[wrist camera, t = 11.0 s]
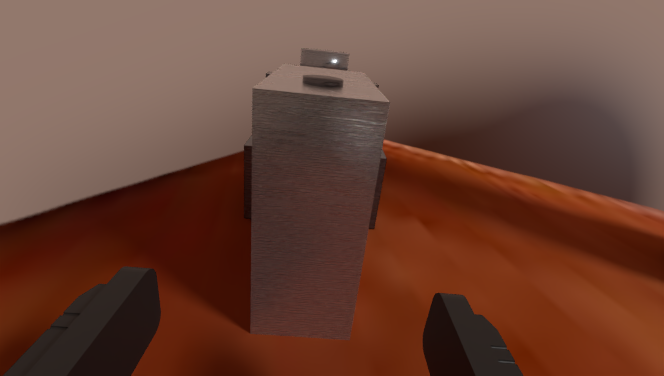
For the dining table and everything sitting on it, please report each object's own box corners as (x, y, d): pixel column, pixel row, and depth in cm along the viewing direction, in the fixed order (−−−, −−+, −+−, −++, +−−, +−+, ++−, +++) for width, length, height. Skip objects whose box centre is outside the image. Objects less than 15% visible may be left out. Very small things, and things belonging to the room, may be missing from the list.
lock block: (341, 234, 27) (364, 68, 22) (349, 340, 18) (391, 95, 13) (276, 229, 26) (284, 59, 21) (250, 333, 17) (252, 80, 12)
